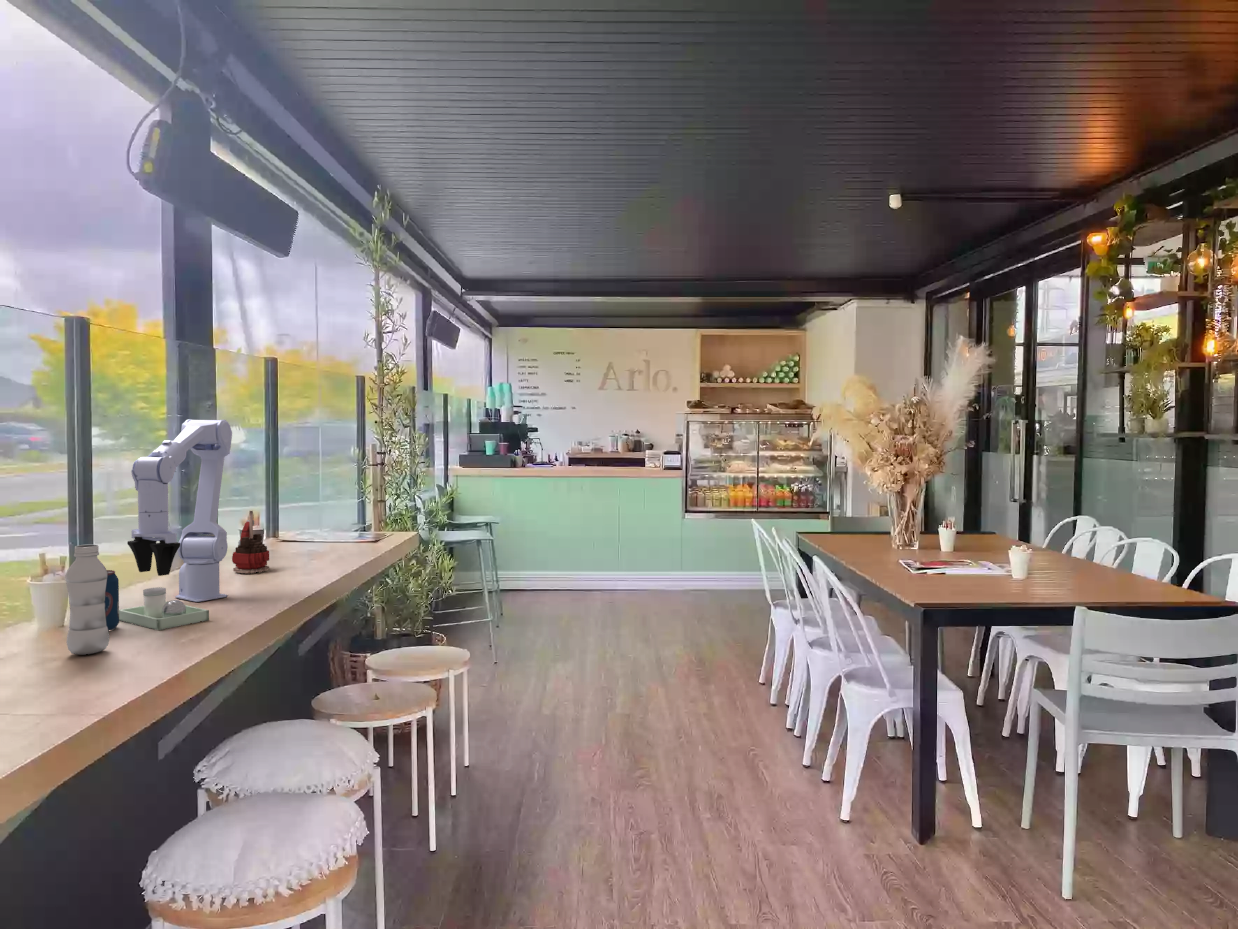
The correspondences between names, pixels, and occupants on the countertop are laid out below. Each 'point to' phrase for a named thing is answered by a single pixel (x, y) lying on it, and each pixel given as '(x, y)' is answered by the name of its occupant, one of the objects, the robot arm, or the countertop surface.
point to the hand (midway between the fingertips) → (154, 573)
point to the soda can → (112, 600)
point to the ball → (173, 608)
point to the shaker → (154, 601)
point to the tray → (138, 617)
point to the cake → (250, 551)
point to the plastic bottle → (87, 602)
